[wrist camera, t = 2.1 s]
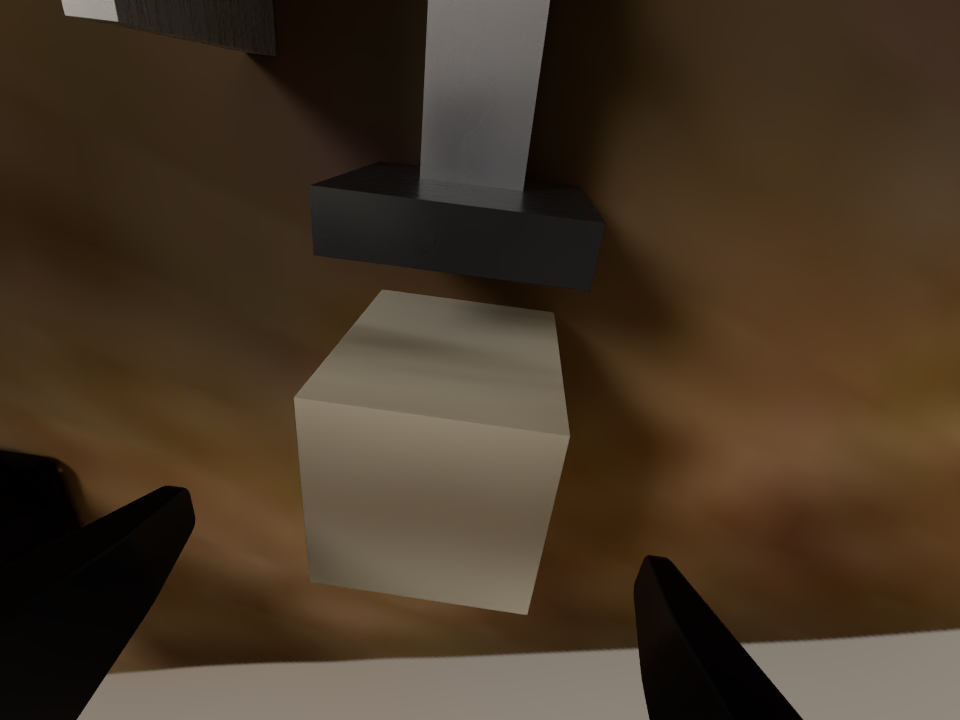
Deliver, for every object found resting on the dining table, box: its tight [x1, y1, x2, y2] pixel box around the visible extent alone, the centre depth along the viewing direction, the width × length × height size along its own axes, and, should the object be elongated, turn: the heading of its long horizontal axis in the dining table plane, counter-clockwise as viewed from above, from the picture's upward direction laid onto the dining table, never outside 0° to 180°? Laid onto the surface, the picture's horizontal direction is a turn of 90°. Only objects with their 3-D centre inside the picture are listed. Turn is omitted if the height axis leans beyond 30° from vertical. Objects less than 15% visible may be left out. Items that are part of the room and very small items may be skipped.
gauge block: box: [294, 290, 570, 615], centre depth 12 cm, size 5×5×6 cm
